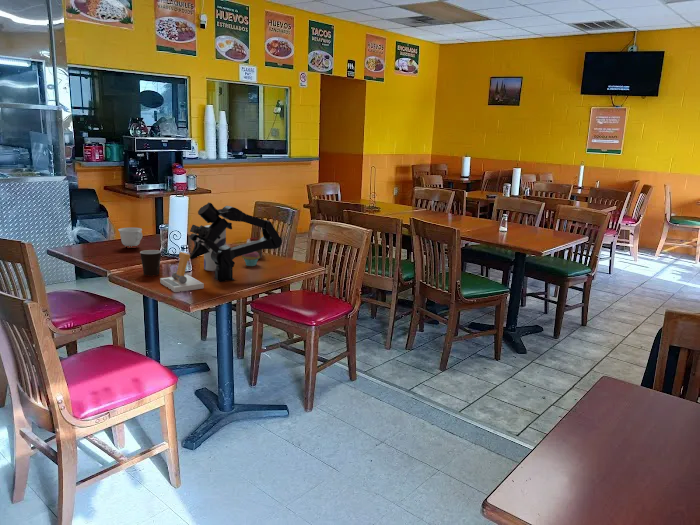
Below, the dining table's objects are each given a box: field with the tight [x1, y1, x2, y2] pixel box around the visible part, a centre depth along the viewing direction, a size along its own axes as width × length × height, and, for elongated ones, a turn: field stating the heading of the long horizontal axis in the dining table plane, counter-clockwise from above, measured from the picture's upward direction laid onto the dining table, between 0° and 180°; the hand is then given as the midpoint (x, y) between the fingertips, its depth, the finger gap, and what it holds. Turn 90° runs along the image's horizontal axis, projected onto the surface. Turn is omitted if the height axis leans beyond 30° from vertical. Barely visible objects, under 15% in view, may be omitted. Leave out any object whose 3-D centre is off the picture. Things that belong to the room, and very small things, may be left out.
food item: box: [245, 236, 263, 259], centre depth 288 cm, size 14×8×10 cm, turn 20°
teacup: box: [117, 226, 144, 247], centre depth 293 cm, size 12×15×10 cm
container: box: [203, 224, 227, 272], centre depth 256 cm, size 10×10×20 cm
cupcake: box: [241, 251, 261, 267], centre depth 267 cm, size 9×8×12 cm
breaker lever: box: [176, 251, 191, 279], centre depth 227 cm, size 2×5×11 cm, turn 38°
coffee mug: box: [139, 249, 162, 277], centre depth 245 cm, size 12×9×10 cm
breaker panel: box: [159, 271, 205, 293], centre depth 228 cm, size 12×16×5 cm
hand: (190, 258), depth 229 cm, fingers closed
